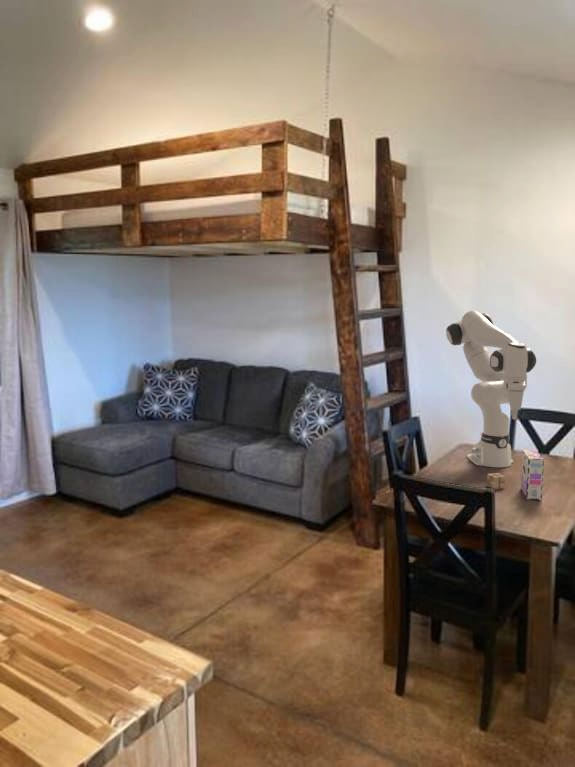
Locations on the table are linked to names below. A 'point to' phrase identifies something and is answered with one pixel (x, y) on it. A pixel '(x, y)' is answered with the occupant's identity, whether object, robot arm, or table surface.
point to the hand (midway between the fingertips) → (513, 417)
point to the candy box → (532, 474)
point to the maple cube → (496, 480)
